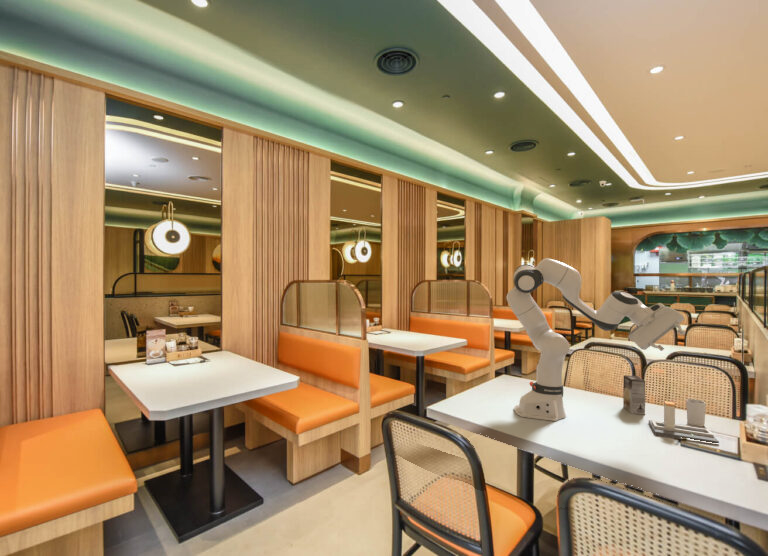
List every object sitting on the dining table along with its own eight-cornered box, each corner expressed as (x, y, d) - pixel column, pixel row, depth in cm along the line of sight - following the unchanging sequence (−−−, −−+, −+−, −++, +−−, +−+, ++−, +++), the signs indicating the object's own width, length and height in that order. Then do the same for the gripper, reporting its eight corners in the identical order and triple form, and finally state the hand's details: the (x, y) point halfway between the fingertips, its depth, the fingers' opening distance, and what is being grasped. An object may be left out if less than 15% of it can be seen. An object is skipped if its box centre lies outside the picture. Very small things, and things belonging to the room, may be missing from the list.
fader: (665, 428, 155) (665, 403, 155) (663, 425, 158) (664, 401, 158) (674, 430, 153) (674, 404, 153) (672, 427, 156) (672, 402, 156)
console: (655, 435, 152) (655, 429, 152) (648, 423, 164) (648, 417, 164) (718, 445, 143) (718, 438, 143) (706, 432, 155) (706, 426, 155)
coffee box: (622, 407, 185) (622, 374, 185) (636, 408, 184) (637, 375, 184) (630, 413, 176) (631, 379, 176) (646, 414, 175) (646, 380, 175)
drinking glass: (689, 425, 162) (689, 402, 162) (683, 420, 169) (683, 398, 169) (708, 427, 160) (708, 404, 160) (701, 422, 166) (701, 399, 166)
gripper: (622, 332, 161) (646, 356, 150) (663, 300, 154) (692, 321, 143) (628, 338, 164) (653, 361, 153) (669, 305, 157) (698, 327, 146)
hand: (672, 341), depth 148 cm, fingers open, 8 cm apart
